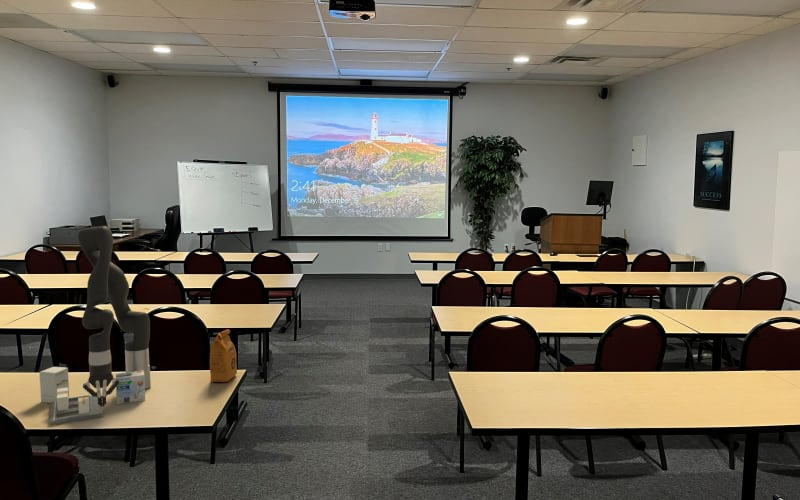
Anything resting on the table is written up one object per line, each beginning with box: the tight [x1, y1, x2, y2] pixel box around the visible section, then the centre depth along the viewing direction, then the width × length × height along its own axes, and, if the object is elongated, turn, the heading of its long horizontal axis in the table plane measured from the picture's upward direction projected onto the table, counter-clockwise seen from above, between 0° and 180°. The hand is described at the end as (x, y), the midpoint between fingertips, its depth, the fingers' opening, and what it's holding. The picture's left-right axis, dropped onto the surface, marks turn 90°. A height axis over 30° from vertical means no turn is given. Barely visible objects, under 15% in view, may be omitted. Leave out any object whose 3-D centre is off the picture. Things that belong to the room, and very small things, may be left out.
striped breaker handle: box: [78, 397, 90, 414], centre depth 223 cm, size 4×4×5 cm
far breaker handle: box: [57, 387, 69, 400], centre depth 232 cm, size 4×4×5 cm
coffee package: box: [209, 329, 238, 383], centre depth 265 cm, size 10×12×22 cm
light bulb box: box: [115, 370, 146, 405], centre depth 240 cm, size 11×7×11 cm, turn 117°
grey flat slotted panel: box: [49, 394, 104, 427], centre depth 228 cm, size 17×22×2 cm
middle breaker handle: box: [57, 393, 69, 411], centre depth 226 cm, size 4×4×5 cm
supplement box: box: [38, 366, 70, 404], centre depth 239 cm, size 7×7×13 cm
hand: (102, 405), depth 226 cm, fingers closed
